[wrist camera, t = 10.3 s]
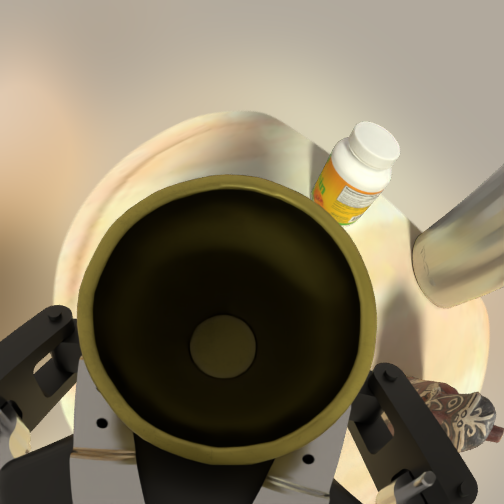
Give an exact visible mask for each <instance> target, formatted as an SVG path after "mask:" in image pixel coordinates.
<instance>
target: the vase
mask: <svg viewBox="0 0 504 504" xmlns="http://www.w3.org/2000/svg"><path fill="white" fill-rule="evenodd" d="M77 328H78V336H79V344H80V348H81V352H82V356H83V359H84V363H85V366H86V368H87V370H88V372H89V374H90V377H91V379H92V381H93V382H94V384H95V386H96V387H97V389H98V390H99V392H100V393H101V395H102V396H103V398H104V399H105V401H106V402H107V403H108V405H109V406H110V408H111V409H112V410H113V412H114V413H115V414H116V415H117V416H118V417H119V418H120V419H121V420H122V422H123V423H124V424H125V425H126V426H127V427H128V428H129V429H131V430H132V431H133V432H134V433H136V434H137V435H138V436H140V437H141V438H142V439H143V440H145V441H147V442H149V443H151V444H153V445H154V446H156V447H158V448H160V449H162V450H165V451H167V452H170V453H172V454H175V455H178V456H180V457H183V458H186V459H190V460H194V461H197V462H201V463H205V464H209V465H252V464H256V463H260V462H263V461H267V460H270V459H274V458H277V457H280V456H283V455H286V454H288V453H290V452H293V451H295V450H297V449H300V448H302V447H304V446H306V445H307V444H309V443H310V442H312V441H313V440H315V439H316V438H318V437H319V436H321V435H322V434H323V433H324V432H325V431H327V430H328V429H329V428H330V427H331V426H332V425H333V424H335V423H336V421H337V420H338V419H339V418H340V417H341V416H342V415H343V414H344V413H345V411H346V410H347V409H348V408H349V406H350V405H351V403H352V402H353V401H354V399H355V398H356V396H357V395H358V393H359V391H360V390H361V388H362V386H363V384H364V382H365V380H366V378H367V376H368V374H369V371H370V368H371V364H372V360H373V357H374V350H375V343H376V332H377V312H376V302H375V296H374V292H373V287H372V283H371V280H370V277H369V274H368V271H367V269H366V266H365V264H364V262H363V259H362V257H361V255H360V253H359V251H358V249H357V247H356V245H355V244H354V242H353V240H352V239H351V237H350V236H349V235H348V233H347V232H346V231H345V230H344V229H343V227H342V226H341V225H340V224H339V223H338V222H337V221H336V220H335V219H334V218H333V217H332V216H331V215H330V214H329V213H328V212H327V211H326V210H325V209H324V208H322V207H321V206H320V205H319V204H317V203H315V202H314V201H312V200H311V199H309V198H307V197H306V196H304V195H302V194H300V193H299V192H296V191H294V190H292V189H289V188H287V187H285V186H282V185H280V184H277V183H275V182H272V181H269V180H266V179H262V178H259V177H253V176H245V175H228V174H225V175H212V176H207V177H202V178H197V179H193V180H189V181H185V182H181V183H178V184H175V185H172V186H169V187H166V188H164V189H161V190H159V191H157V192H155V193H153V194H151V195H150V196H148V197H146V198H145V199H143V200H142V201H140V202H139V203H137V204H136V205H134V206H133V207H131V208H130V209H128V210H127V211H126V212H125V213H124V214H123V215H122V216H121V217H119V218H118V219H117V220H116V221H115V222H114V223H113V225H112V226H111V227H110V228H109V229H108V231H107V232H106V234H105V235H104V237H103V238H102V240H101V242H100V243H99V245H98V247H97V249H96V251H95V253H94V255H93V257H92V259H91V261H90V263H89V265H88V267H87V269H86V271H85V274H84V277H83V280H82V283H81V286H80V289H79V296H78V304H77Z"/></svg>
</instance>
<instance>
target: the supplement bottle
mask: <svg viewBox="0 0 504 504" xmlns="http://www.w3.org/2000/svg"><path fill="white" fill-rule="evenodd" d="M399 155H400V147H399V144H398V142H397V140H396V139H395V138H394V136H393V135H392V134H391V133H390V132H389V131H387V130H386V129H384V128H383V127H381V126H380V125H377V124H375V123H372V122H360V123H358V124H356V126H355V127H354V129H353V131H352V132H351V134H350V136H349V137H347V138H344V139H342V140H340V141H339V142H338V143H337V144H336V145H335V147H334V148H333V150H332V153H331V154H330V156H329V158H328V160H327V162H326V164H325V166H324V168H323V170H322V172H321V174H320V176H319V178H318V180H317V182H316V184H315V186H314V188H313V190H312V193H311V200H312V201H314V202H315V203H317V204H319V205H320V206H321V207H322V208H324V209H325V210H326V211H327V212H328V213H329V214H330V215H331V216H332V217H333V218H334V219H335V220H336V221H337V222H338V223H339V224H340V225H341V226H342V227H346V226H350V225H352V224H353V223H355V222H356V221H357V220H358V219H359V218H360V217H361V215H362V214H363V213H364V212H365V211H366V210H367V209H368V207H369V206H370V205H371V204H372V203H373V202H374V200H375V199H376V198H377V197H378V196H379V195H380V193H381V192H382V191H383V190H384V189H385V187H386V186H387V185H388V183H389V182H390V179H391V175H392V170H391V166H393V164H394V163H395V161H396V160H397V158H398V157H399Z"/></svg>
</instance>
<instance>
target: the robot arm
mask: <svg viewBox="0 0 504 504" xmlns="http://www.w3.org/2000/svg"><path fill="white" fill-rule="evenodd" d="M413 267H414V272H415V275H416V278H417V282H418V284H419V286H420V288H421V290H422V291H423V293H424V294H425V295H426V297H427V298H428V299H429V300H430V301H431V302H432V303H434V304H435V305H437V306H439V307H442V308H451V307H454V306H457V305H459V304H462V303H465V302H468V301H470V300H473V299H476V298H479V297H481V296H483V295H486V294H488V293H491V292H493V291H496V290H498V289H500V288H503V287H504V164H503V165H502V166H501V167H500V168H499V169H498V170H497V171H496V172H495V173H493V174H492V175H491V176H490V177H489V178H488V179H487V180H486V181H485V182H484V183H482V184H481V185H480V186H479V187H478V188H477V189H476V190H475V191H474V192H472V193H471V194H470V195H469V196H468V197H467V198H465V199H464V200H463V201H462V202H461V203H460V204H458V205H457V206H456V207H455V208H453V209H452V210H451V211H450V212H449V213H447V214H446V215H445V216H444V217H442V218H441V219H440V220H438V221H437V222H436V223H435V224H433V225H432V226H431V227H429V228H428V229H427V230H426V231H424V232H423V233H422V234H421V235H419V237H418V238H417V240H416V241H415V244H414V247H413ZM48 353H50V354H51V356H52V358H51V359H50V360H49V361H48V362H46V363H45V364H44V365H43V366H42V367H41V368H40V369H39V370H38V371H37V372H36V373H35V374H33V371H34V367H35V366H36V364H37V363H38V362H39V361H40V360H41V359H42V358H44V357H45V356H46V355H47V354H48ZM76 382H77V383H76ZM75 383H76V394H75V409H74V434H72V435H70V436H68V437H66V438H63V439H61V440H59V441H56V442H54V443H52V444H49V445H47V446H45V447H42V448H40V449H37V450H35V451H32V452H30V453H29V451H30V449H31V446H30V439H31V437H30V432H31V431H32V430H33V429H34V428H35V427H36V426H37V425H38V424H39V422H40V421H41V420H42V419H43V418H44V417H45V416H46V415H47V414H48V412H49V411H50V410H51V409H52V408H53V407H54V406H55V405H56V404H57V403H58V401H59V400H60V399H61V398H62V397H63V396H64V395H65V394H66V393H67V392H68V391H69V390H70V389H71V388H72V386H73V385H74V384H75ZM383 412H385V414H386V416H387V417H388V419H389V421H390V422H391V424H392V426H393V428H394V436H392V434H391V432H390V430H389V429H388V427H387V425H386V423H385V422H384V420H383V418H382V416H381V415H382V414H383ZM347 427H348V429H349V431H350V433H351V435H352V437H353V439H354V441H355V443H356V446H357V448H358V450H359V452H360V454H361V456H362V458H363V460H364V462H365V464H366V467H367V469H368V471H369V473H370V475H371V477H372V479H373V481H374V484H375V486H376V488H377V490H378V492H379V493H378V494H377V497H376V503H375V504H472V503H473V502H474V501H475V499H476V496H477V493H478V486H477V482H476V480H475V478H474V477H473V475H472V473H471V472H470V470H469V469H468V467H467V465H466V464H465V462H464V461H463V459H462V457H461V456H460V454H459V453H458V451H457V449H456V448H455V446H454V445H453V443H452V442H451V440H450V439H449V437H448V436H447V434H446V433H445V431H444V430H443V428H442V427H441V425H440V424H439V422H438V421H437V419H436V418H435V416H434V415H433V413H432V412H431V411H430V409H429V408H428V406H427V405H426V403H425V402H424V401H423V399H422V398H421V396H420V395H419V394H418V392H417V391H416V389H415V388H414V387H413V385H412V384H411V382H410V381H409V380H408V378H407V377H406V376H405V374H404V373H403V372H402V370H401V369H399V368H398V367H397V366H395V365H393V364H390V363H379V364H377V365H376V366H375V368H374V369H373V371H369V374H368V376H367V378H366V380H365V382H364V384H363V386H362V388H361V390H360V391H359V393H358V395H357V396H356V398H355V399H354V401H353V402H352V403H351V405H350V406H349V408H348V409H347V410H346V411H345V413H344V414H343V415H342V416H341V417H340V418H339V419H338V420H337V421H336V423H335V424H333V425H332V426H331V427H330V428H329V429H328V430H327V431H325V432H324V433H323V434H322V435H321V436H319V437H318V438H316V439H315V440H313V441H312V442H310V443H309V444H307V445H306V446H304V447H302V448H300V449H297V450H295V451H293V452H290V453H288V454H286V455H283V456H280V457H277V458H274V459H270V460H267V461H263V462H260V463H256V464H252V465H209V464H205V463H201V462H197V461H194V460H190V459H186V458H183V457H180V456H178V455H175V454H172V453H170V452H167V451H165V450H162V449H160V448H158V447H156V446H154V445H153V444H151V443H149V442H147V441H145V440H143V439H142V438H141V437H140V436H138V435H137V434H136V433H134V432H133V431H132V430H131V429H129V428H128V427H127V426H126V425H125V424H124V423H123V422H122V420H121V419H120V418H119V417H118V416H117V415H116V414H115V413H114V412H113V410H112V409H111V408H110V406H109V405H108V403H107V402H106V401H105V399H104V398H103V396H102V395H101V393H100V392H99V390H98V389H97V387H96V386H95V384H94V382H93V381H92V379H91V377H90V374H89V372H88V370H87V368H86V366H85V363H84V359H83V356H82V352H81V348H80V344H79V336H78V328H77V319H73V316H72V312H71V310H70V309H69V308H67V307H65V306H62V305H54V306H50V307H48V308H46V309H44V310H43V311H41V312H40V313H38V314H37V315H36V316H34V317H33V318H32V319H30V320H29V321H27V322H26V323H24V324H23V325H22V326H21V327H19V328H18V329H17V330H15V331H14V332H13V333H11V334H10V335H9V336H7V337H6V338H5V339H3V340H2V341H1V342H0V504H362V503H361V502H360V501H359V500H358V499H356V498H355V497H354V496H353V495H352V494H351V493H349V492H348V491H347V490H346V489H345V488H344V487H343V486H342V485H340V484H339V483H338V482H337V481H336V480H335V479H334V474H335V471H336V468H337V464H338V461H339V457H340V453H341V450H342V446H343V442H344V438H345V434H346V429H347Z"/></svg>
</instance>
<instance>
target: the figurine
mask: <svg viewBox="0 0 504 504" xmlns="http://www.w3.org/2000/svg"><path fill="white" fill-rule="evenodd" d="M407 378H408V380H409V381H410V382H411V384H412V385H413V387H414V388H415V389H416V391H417V392H418V394H419V395H420V396H421V398H422V399H423V401H424V402H425V403H426V405H427V406H428V408H429V409H430V411H431V412H432V413H433V415H434V416H435V418H436V419H437V421H438V422H439V424H440V425H441V427H442V428H443V430H444V431H445V433H446V434H447V436H448V437H449V439H450V440H451V442H452V443H453V445H454V446H455V448H456V449H457V451H458V453H460V452H464V451H467V450H471V449H473V448H476V447H478V446H479V445H481V444H482V443H483V442H484V441H485V440H486V441H491V442H499V441H500V440H501V438H502V436H503V434H504V428H501V427H498V426H495V425H494V422H495V418H496V412H495V408H494V406H493V404H492V403H491V402H490V400H489V399H487V398H486V397H483V396H482V395H481V394H480V393H479V392H474V393H471V394H459V393H458V392H457V390H456V389H455V388H453V387H451V386H450V385H448V384H446V383H441V382H434V381H427V380H420V379H418V378H414V377H407ZM381 416H382V418H383V420H384V422H385V423H386V425H387V427H388V429H389V430H390V432H391V434H392V436H394V428H393V426H392V424H391V422H390V421H389V419H388V417H387V416H386V414H385V412H383V414H382V415H381Z"/></svg>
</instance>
